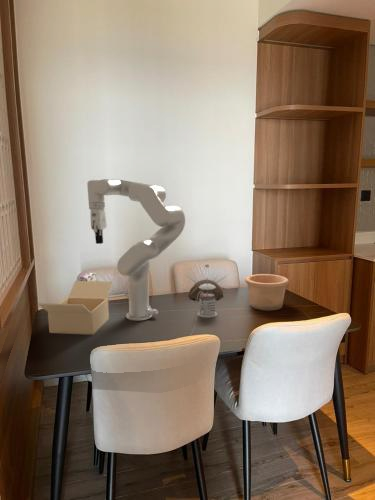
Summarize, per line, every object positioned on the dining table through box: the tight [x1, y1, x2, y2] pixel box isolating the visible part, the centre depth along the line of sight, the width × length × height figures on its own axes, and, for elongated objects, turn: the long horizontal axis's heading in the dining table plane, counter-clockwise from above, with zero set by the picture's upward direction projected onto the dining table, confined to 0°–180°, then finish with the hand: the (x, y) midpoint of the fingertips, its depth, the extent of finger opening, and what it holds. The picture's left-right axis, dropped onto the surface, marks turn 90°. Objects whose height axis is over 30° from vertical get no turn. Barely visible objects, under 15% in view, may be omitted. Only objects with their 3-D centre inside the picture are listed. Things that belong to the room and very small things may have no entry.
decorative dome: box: [188, 278, 224, 301], centre depth 216 cm, size 19×20×10 cm
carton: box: [47, 297, 110, 335], centre depth 173 cm, size 20×20×10 cm
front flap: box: [37, 302, 91, 313], centre depth 158 cm, size 19×10×1 cm
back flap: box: [69, 280, 113, 298], centre depth 186 cm, size 19×10×1 cm
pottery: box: [244, 273, 290, 311], centre depth 198 cm, size 22×22×14 cm
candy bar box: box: [78, 272, 97, 281], centre depth 203 cm, size 11×5×16 cm, turn 168°
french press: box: [196, 264, 218, 318], centre depth 184 cm, size 10×12×25 cm
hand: (99, 243), depth 187 cm, fingers closed
